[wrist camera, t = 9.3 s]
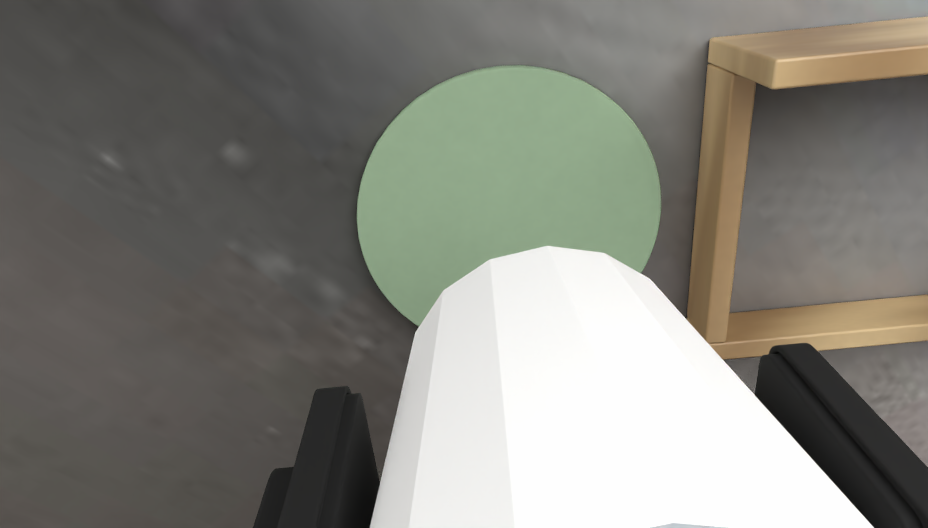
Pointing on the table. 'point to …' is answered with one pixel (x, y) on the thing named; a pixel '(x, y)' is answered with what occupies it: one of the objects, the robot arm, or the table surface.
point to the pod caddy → (723, 177)
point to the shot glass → (585, 413)
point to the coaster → (502, 181)
